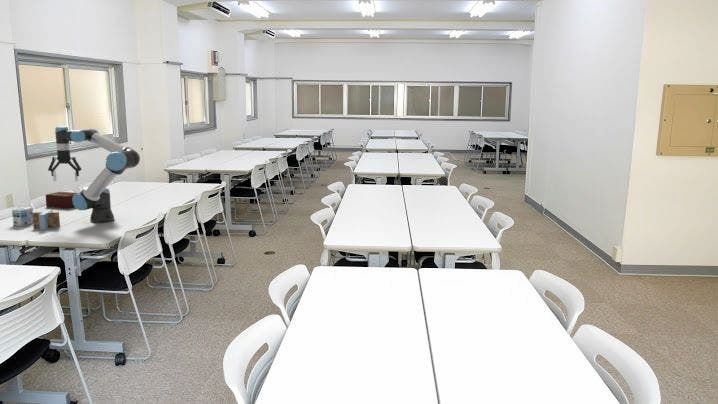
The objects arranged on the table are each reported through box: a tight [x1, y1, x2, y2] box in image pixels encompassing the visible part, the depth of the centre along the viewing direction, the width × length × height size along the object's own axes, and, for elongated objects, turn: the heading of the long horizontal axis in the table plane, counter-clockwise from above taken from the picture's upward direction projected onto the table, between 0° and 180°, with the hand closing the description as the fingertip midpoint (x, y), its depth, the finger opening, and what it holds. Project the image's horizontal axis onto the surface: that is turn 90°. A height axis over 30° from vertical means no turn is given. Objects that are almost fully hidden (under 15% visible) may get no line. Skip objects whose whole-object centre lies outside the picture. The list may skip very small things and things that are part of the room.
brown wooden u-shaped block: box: [32, 211, 61, 229], centre depth 346 cm, size 15×3×10 cm, turn 99°
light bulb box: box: [11, 206, 34, 227], centre depth 352 cm, size 11×7×11 cm, turn 168°
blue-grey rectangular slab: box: [39, 209, 54, 231], centre depth 346 cm, size 14×3×10 cm, turn 9°
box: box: [45, 191, 78, 210], centre depth 411 cm, size 21×16×10 cm
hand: (65, 181), depth 356 cm, fingers open, 13 cm apart
